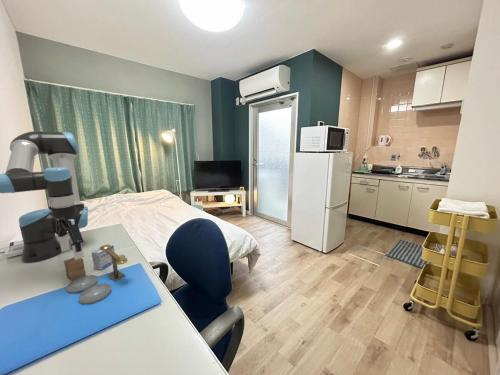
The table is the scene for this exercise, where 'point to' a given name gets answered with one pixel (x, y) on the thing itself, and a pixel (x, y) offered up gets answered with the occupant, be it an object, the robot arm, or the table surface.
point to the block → (74, 268)
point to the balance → (115, 262)
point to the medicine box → (102, 258)
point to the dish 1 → (82, 283)
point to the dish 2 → (95, 293)
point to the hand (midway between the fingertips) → (72, 254)
